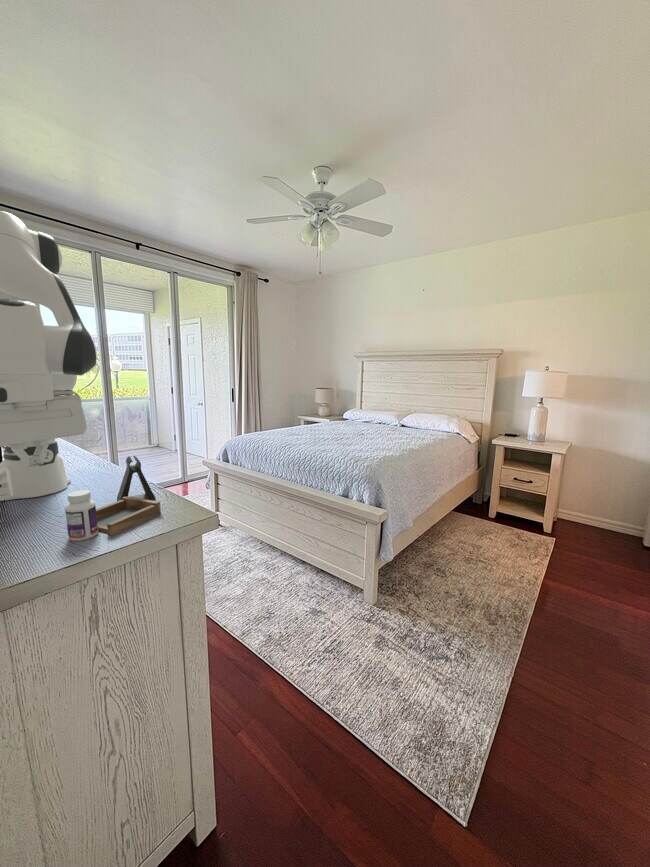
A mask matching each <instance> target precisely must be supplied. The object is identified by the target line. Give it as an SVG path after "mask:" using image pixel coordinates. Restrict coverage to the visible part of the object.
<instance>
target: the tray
mask: <svg viewBox="0 0 650 867" xmlns="http://www.w3.org/2000/svg"><path fill="white" fill-rule="evenodd" d="M126 508H127V509H133V510H138V511H137V512H134V513H132V514H130V515H127V516H125V517H123V518H120V519H118V520H116V521H113V522H111V523H109V524H107V526H102V525H98V532H101V533H102V532H104V533H106V534H107V535H108V536H112V537H113V536H115V535H117V534H119V533H121V532H123V531H126V530H128V529H130V528H132V527H134V526H137V525H139V524H140V523H143V522H145V521H147V520H150V519H151V518H154V517H155V515H156V516H158V515H159V513H160V514H162V510H161V501H158V500H146V499H140V498H134V497H129V495H128V496H125V497H122V500H119V501H114V502H112V503H109V504H107V505H104V506H101V507H97V508H96V515H97V520H99V519H102V518H104V517H107V516H109V515H112V514H114V513H116V512H119V511H121V510H124V509H126ZM157 514H158V515H157ZM153 516H154V517H153Z"/></svg>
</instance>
